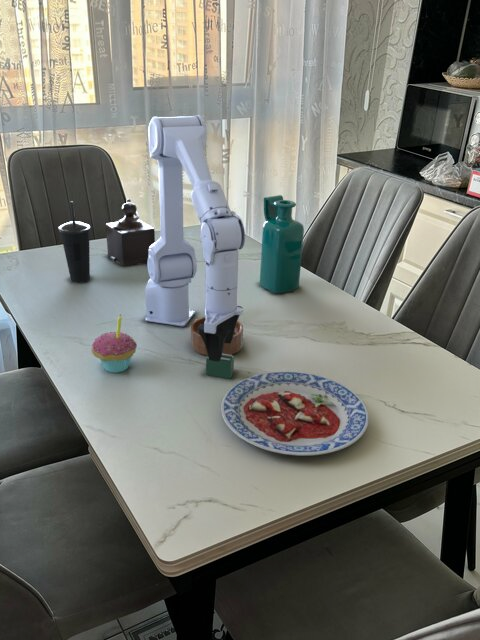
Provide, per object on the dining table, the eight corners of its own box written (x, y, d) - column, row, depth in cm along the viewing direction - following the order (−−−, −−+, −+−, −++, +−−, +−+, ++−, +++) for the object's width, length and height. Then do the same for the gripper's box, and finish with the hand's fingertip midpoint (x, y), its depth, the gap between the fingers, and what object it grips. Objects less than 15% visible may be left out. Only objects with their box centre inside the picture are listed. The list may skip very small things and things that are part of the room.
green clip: (205, 374, 119) (206, 356, 116) (209, 368, 121) (209, 350, 118) (230, 379, 118) (230, 360, 115) (233, 372, 120) (234, 354, 117)
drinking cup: (101, 277, 159) (94, 200, 148) (80, 287, 153) (71, 207, 142) (80, 271, 162) (71, 195, 151) (59, 280, 156) (48, 201, 145)
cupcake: (144, 361, 122) (141, 307, 116) (124, 381, 116) (120, 325, 109) (107, 353, 125) (101, 299, 118) (85, 373, 118) (78, 317, 111)
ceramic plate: (259, 480, 93) (260, 465, 91) (199, 395, 112) (199, 382, 111) (396, 444, 102) (399, 429, 100) (319, 371, 121) (321, 358, 120)
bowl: (183, 353, 126) (183, 334, 123) (200, 331, 135) (200, 312, 132) (234, 362, 123) (235, 342, 121) (247, 338, 132) (248, 319, 130)
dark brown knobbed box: (104, 256, 172) (98, 191, 162) (139, 249, 178) (135, 186, 168) (129, 273, 162) (125, 205, 152) (165, 266, 167) (163, 200, 157)
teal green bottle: (301, 288, 157) (310, 203, 144) (276, 295, 152) (282, 207, 140) (278, 276, 163) (284, 193, 151) (253, 282, 159) (257, 197, 147)
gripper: (232, 303, 102) (230, 372, 110) (252, 273, 114) (249, 337, 121) (192, 297, 104) (193, 366, 111) (217, 268, 115) (216, 332, 123)
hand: (220, 350), depth 116 cm, fingers open, 7 cm apart
